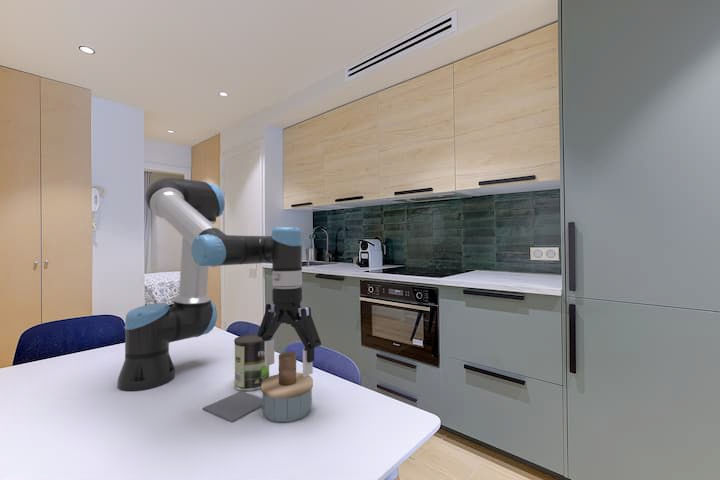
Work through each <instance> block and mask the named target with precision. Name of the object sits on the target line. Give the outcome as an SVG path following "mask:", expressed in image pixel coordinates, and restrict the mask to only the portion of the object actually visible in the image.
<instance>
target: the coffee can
mask: <svg viewBox="0 0 720 480" xmlns="http://www.w3.org/2000/svg"><path fill="white" fill-rule="evenodd" d="M257 334H258V333H249V334H244V335H240V336H237V337H235V338H234V340H233V341H234V388H235V389H236V390H238V391H244V392H251V391H256V390H257V391H258V390H261V384H262V382H263V381H264V380H265V379H267V378H269V377H270V365H269V366H265V352H264V350H263V348H264V347H263V340H262V338H261V337H258V335H257Z"/></svg>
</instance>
